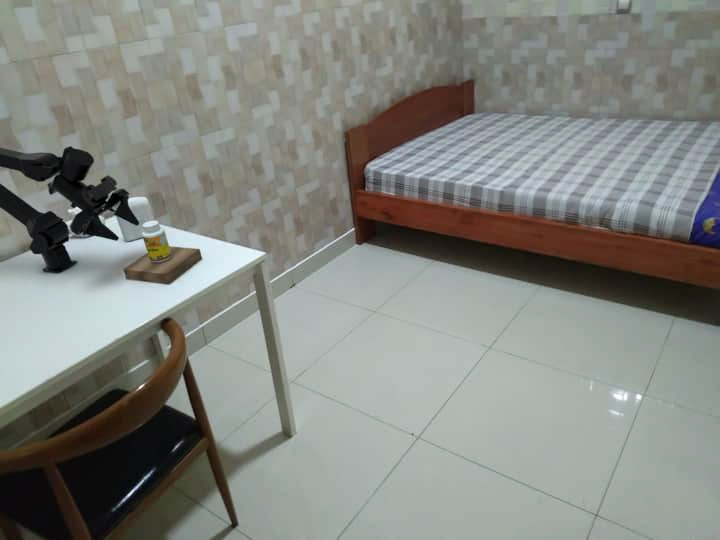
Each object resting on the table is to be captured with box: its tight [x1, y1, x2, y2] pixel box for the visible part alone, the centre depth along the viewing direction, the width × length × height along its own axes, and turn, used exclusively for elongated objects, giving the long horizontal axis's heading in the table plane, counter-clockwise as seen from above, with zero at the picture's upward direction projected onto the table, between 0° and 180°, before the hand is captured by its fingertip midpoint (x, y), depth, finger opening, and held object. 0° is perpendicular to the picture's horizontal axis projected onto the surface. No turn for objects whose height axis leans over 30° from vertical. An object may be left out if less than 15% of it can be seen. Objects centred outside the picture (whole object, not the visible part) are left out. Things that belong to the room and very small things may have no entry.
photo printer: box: [115, 196, 156, 242], centre depth 156 cm, size 10×4×12 cm, turn 123°
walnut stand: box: [122, 245, 203, 285], centre depth 137 cm, size 14×14×3 cm
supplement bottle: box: [142, 220, 171, 263], centre depth 134 cm, size 6×6×10 cm
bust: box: [65, 207, 106, 238], centre depth 162 cm, size 12×8×11 cm
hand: (128, 231), depth 134 cm, fingers open, 9 cm apart
